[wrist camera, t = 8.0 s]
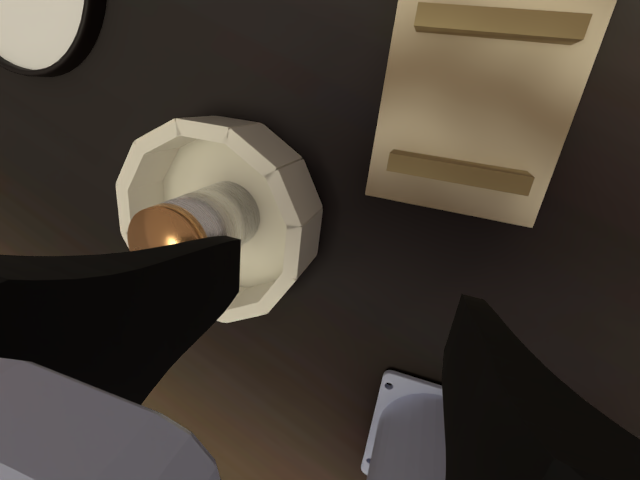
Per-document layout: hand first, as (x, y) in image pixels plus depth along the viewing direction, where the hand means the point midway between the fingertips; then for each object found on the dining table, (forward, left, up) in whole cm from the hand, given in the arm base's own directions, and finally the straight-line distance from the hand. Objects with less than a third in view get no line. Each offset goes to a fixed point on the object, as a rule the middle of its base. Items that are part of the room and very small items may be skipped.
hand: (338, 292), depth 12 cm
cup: (-2, +9, -9) cm, 13 cm away
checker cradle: (+6, -3, -9) cm, 12 cm away
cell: (-2, +9, -9) cm, 13 cm away
